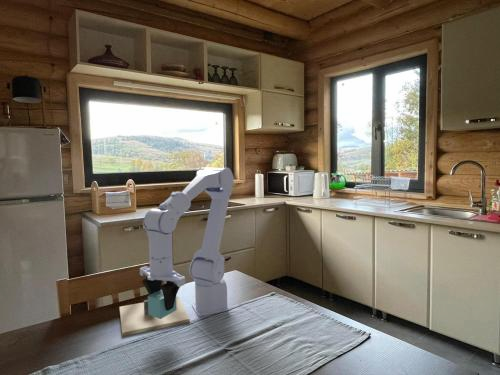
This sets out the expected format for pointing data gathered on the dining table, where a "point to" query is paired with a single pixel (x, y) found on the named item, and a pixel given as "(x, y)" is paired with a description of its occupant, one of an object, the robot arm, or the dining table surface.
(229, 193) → the robot arm
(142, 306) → the base plate
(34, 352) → the dining table surface
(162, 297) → the mint green mini box
